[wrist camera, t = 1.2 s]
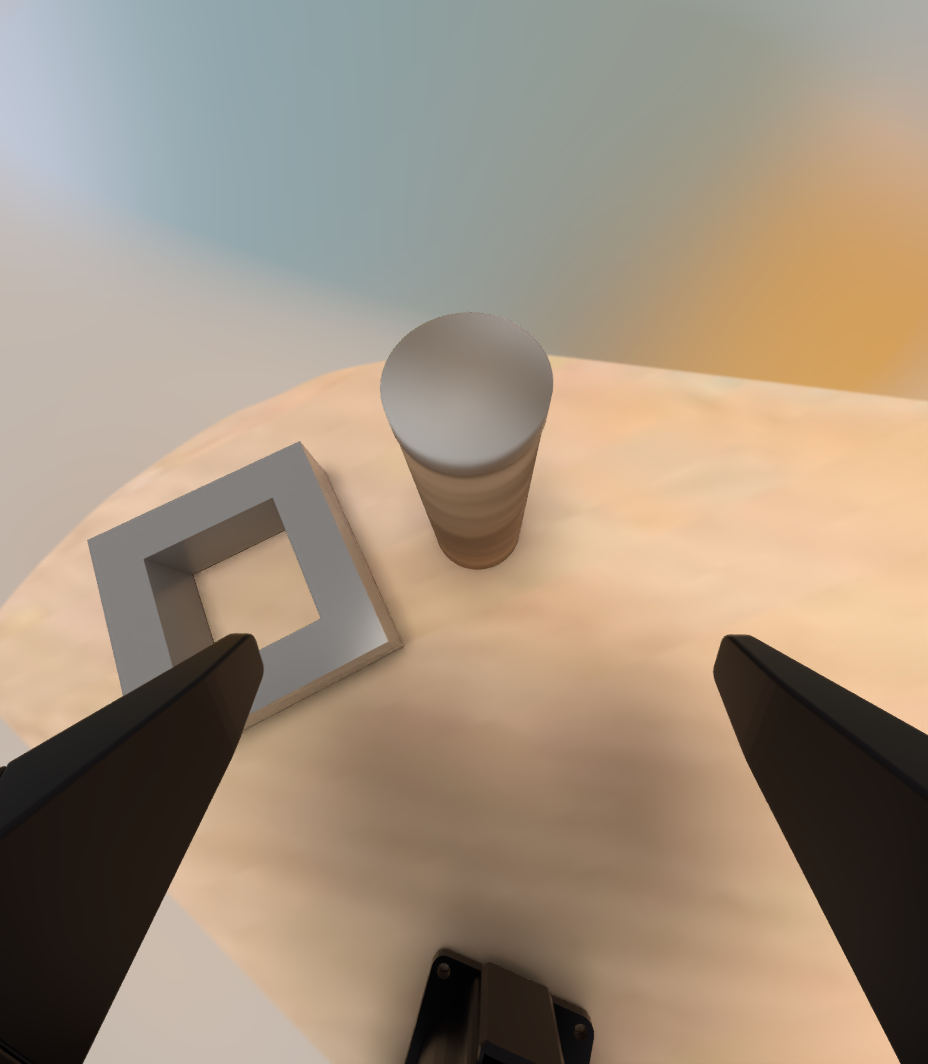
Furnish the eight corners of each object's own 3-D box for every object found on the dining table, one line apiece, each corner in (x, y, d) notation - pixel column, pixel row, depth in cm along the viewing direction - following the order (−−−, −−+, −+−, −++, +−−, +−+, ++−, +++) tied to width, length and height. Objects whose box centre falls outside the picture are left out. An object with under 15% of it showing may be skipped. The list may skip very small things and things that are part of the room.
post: (506, 581, 22) (527, 479, 10) (424, 556, 23) (354, 433, 11) (530, 502, 24) (571, 331, 12) (450, 480, 24) (414, 298, 12)
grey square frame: (403, 646, 22) (388, 641, 18) (197, 754, 21) (140, 771, 17) (325, 471, 25) (299, 441, 22) (143, 558, 24) (87, 540, 20)
